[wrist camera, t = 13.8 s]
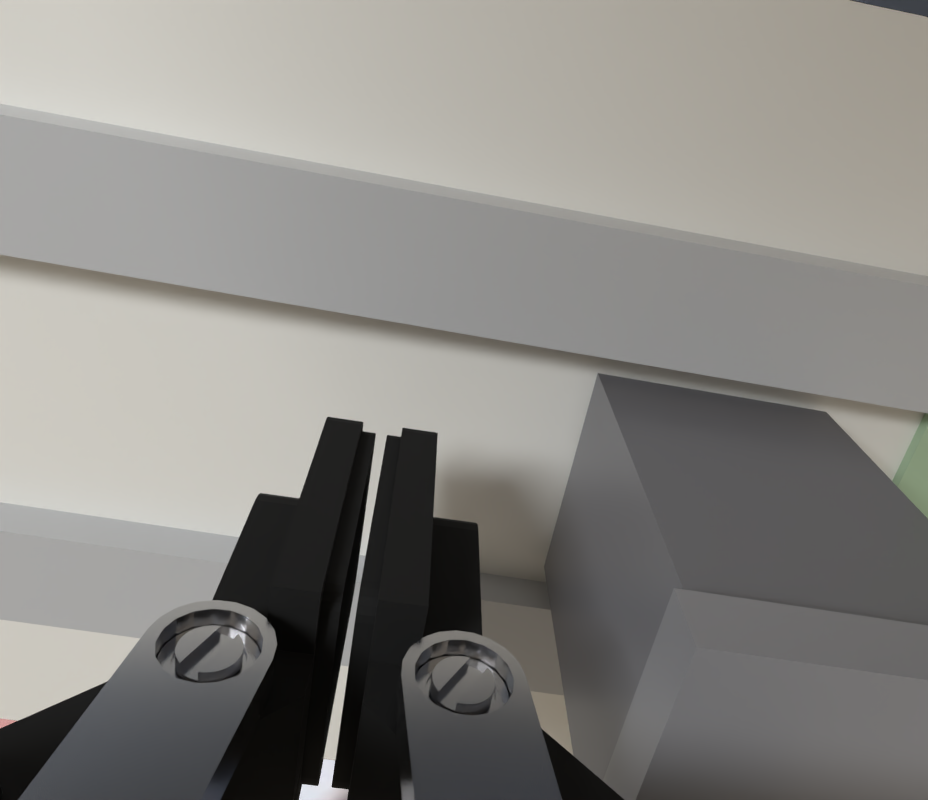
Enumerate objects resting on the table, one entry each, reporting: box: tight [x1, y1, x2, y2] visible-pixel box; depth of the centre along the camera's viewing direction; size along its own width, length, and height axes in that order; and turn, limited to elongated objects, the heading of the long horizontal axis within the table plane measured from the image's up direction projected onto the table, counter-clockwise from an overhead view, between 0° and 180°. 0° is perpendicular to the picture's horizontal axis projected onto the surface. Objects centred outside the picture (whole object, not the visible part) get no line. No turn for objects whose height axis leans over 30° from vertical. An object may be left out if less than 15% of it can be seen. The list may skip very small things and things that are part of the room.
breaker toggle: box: [544, 373, 928, 800], centre depth 11 cm, size 5×5×7 cm
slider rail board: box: [0, 0, 928, 760], centre depth 15 cm, size 16×28×4 cm, turn 80°
